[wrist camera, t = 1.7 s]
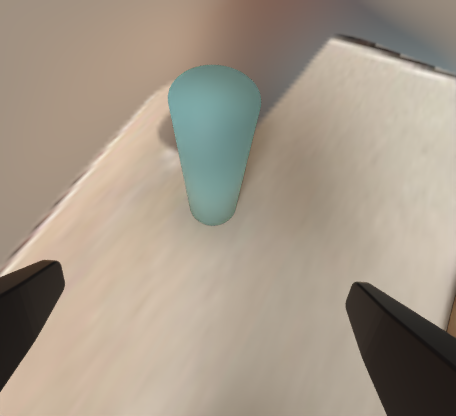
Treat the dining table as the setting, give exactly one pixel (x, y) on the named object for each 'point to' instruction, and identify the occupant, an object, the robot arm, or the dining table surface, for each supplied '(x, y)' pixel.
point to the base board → (452, 321)
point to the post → (213, 136)
